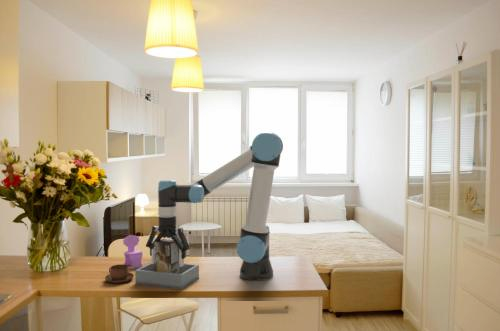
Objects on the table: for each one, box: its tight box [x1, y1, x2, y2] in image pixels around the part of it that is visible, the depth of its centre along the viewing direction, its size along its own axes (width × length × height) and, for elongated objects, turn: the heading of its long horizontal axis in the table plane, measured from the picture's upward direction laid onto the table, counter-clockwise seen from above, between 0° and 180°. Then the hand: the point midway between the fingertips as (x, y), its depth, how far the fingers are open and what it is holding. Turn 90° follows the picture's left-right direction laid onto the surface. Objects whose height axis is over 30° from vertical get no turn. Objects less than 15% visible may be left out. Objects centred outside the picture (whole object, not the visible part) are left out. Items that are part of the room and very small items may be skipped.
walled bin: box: [134, 262, 200, 290], centre depth 181 cm, size 22×16×6 cm
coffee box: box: [154, 238, 180, 274], centre depth 181 cm, size 9×6×16 cm
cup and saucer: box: [104, 263, 135, 284], centre depth 182 cm, size 12×12×6 cm
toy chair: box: [122, 234, 143, 270], centre depth 204 cm, size 8×9×15 cm
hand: (167, 264), depth 181 cm, fingers open, 13 cm apart
